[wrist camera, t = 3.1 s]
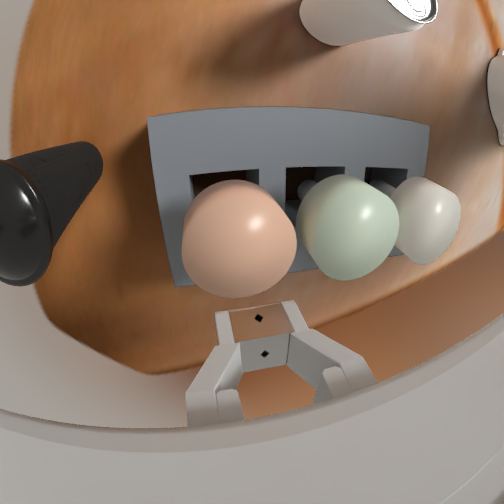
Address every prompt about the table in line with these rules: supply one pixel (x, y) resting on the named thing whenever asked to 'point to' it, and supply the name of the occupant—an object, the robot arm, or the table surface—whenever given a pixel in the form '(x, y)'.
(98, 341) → the table surface
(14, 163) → the drinking cup
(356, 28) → the can
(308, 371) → the robot arm
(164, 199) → the mount
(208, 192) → the knob
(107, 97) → the table surface
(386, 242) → the knob mid
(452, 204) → the knob
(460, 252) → the table surface
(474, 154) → the table surface
